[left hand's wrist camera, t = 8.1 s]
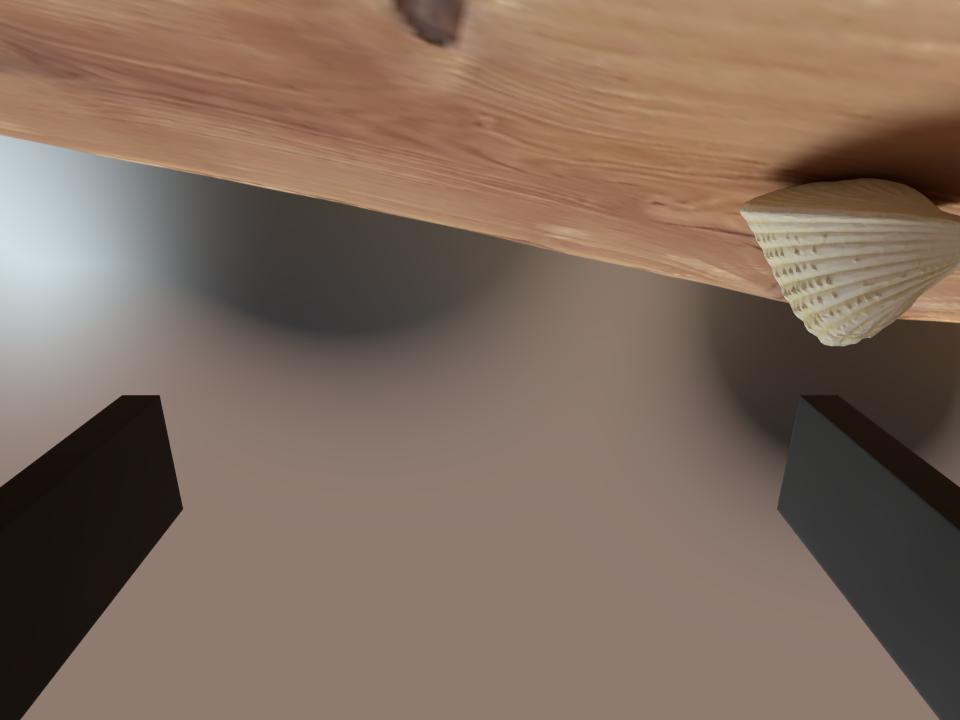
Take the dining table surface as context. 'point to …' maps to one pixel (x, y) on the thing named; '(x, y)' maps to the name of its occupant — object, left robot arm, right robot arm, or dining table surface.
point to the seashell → (853, 252)
